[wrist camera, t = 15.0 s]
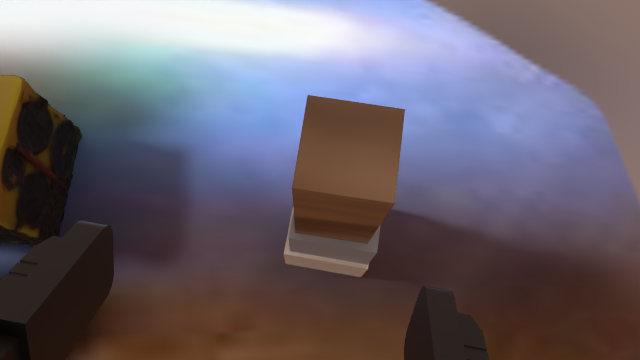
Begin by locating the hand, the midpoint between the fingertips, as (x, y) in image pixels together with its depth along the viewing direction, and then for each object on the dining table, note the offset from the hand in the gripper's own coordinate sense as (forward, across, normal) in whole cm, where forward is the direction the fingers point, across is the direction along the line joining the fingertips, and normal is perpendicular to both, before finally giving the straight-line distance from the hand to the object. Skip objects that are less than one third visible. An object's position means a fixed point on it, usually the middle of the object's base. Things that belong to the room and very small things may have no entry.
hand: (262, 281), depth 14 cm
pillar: (+18, -2, +8) cm, 20 cm away
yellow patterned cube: (+25, +24, +16) cm, 38 cm away
